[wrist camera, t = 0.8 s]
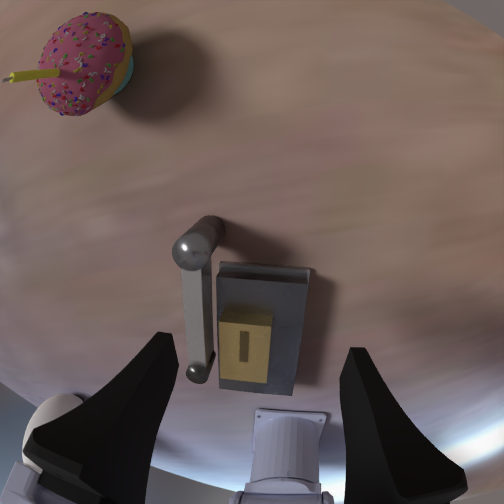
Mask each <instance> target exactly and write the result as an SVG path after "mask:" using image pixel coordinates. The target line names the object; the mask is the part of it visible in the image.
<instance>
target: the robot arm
mask: <svg viewBox="0 0 504 504" xmlns="http://www.w3.org/2000/svg"><path fill="white" fill-rule="evenodd" d="M178 367H179V363H178V359H177V354H176V350H175V345H174V341H173V336H172V334H171V333H164V332H157V333H156V334H155V335H154V336H153V337H152V339H151V340H150V341H149V342H148V343H147V344H146V345H145V346H144V348H143V349H142V350H141V351H140V352H139V353H138V354H137V355H136V356H135V357H134V358H133V359H132V361H131V362H130V363H129V364H128V365H127V366H126V367H125V368H124V369H123V370H122V371H121V372H120V373H119V374H118V375H116V376H115V377H114V378H113V379H112V380H111V381H110V382H109V383H108V384H107V385H105V386H104V387H103V388H102V389H101V390H99V391H98V392H97V393H96V394H94V395H93V396H92V397H90V398H89V399H87V400H86V401H85V402H83V403H82V404H80V405H79V406H77V407H76V408H74V409H72V410H71V411H69V412H67V413H65V414H64V415H62V416H60V417H58V418H56V419H54V420H52V421H50V422H48V423H45V424H43V425H41V426H38V427H36V428H34V429H33V430H32V432H31V434H30V436H29V438H28V440H27V442H26V444H25V446H24V449H23V454H24V455H25V456H26V457H27V458H28V459H30V460H31V461H32V462H33V463H35V464H36V465H37V466H38V467H40V468H41V469H42V473H41V474H39V473H38V472H36V471H34V470H33V469H31V468H29V467H27V466H26V465H24V464H22V463H21V462H19V461H16V462H15V464H14V466H13V468H12V471H11V473H10V475H9V478H8V480H7V482H6V485H5V487H4V489H3V492H2V494H1V497H0V503H1V504H145V496H146V487H147V481H148V474H149V469H150V463H151V458H152V453H153V449H154V444H155V440H156V436H157V432H158V429H159V426H160V423H161V421H162V418H163V415H164V412H165V410H166V407H167V404H168V402H169V399H170V396H171V393H172V391H173V388H174V384H175V380H176V376H177V371H178ZM340 404H341V411H342V419H343V427H344V435H345V443H346V483H345V498H344V504H450V501H452V500H454V499H456V498H457V497H459V496H461V495H462V494H464V493H465V492H466V491H467V490H468V486H467V480H466V475H465V472H464V469H462V468H461V467H460V466H458V465H457V464H455V463H454V462H453V461H451V460H450V459H449V458H447V457H446V456H445V455H444V454H443V453H442V452H440V451H439V450H438V449H437V448H436V447H435V446H434V445H433V444H432V443H431V442H430V441H429V440H428V439H427V438H426V437H425V436H424V435H423V434H422V433H421V432H420V431H419V429H418V428H417V427H416V426H415V425H414V424H413V422H412V421H411V420H410V419H409V418H408V416H407V415H406V414H405V412H404V411H403V410H402V408H401V407H400V405H399V404H398V402H397V401H396V400H395V398H394V396H393V395H392V393H391V392H390V390H389V389H388V387H387V385H386V384H385V382H384V381H383V379H382V377H381V375H380V374H379V372H378V370H377V368H376V367H375V365H374V363H373V361H372V359H371V357H370V356H369V354H368V352H367V350H366V349H365V348H361V347H350V350H349V353H348V356H347V359H346V361H345V364H344V367H343V370H342V373H341V375H340ZM259 415H260V416H259ZM326 418H327V416H326V414H325V413H310V412H291V411H277V410H265V409H257V410H256V413H255V426H254V440H253V453H254V458H253V464H252V470H251V477H250V483H246V484H245V489H244V491H237V492H236V493H235V494H234V495H233V496H232V497H231V498H230V501H229V504H334V498H333V496H332V495H331V494H329V492H328V491H325V492H322V495H321V483H319V445H318V442H319V439H320V436H321V433H322V430H323V427H324V424H325V421H326Z"/></svg>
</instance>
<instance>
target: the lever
mask: <svg viewBox="0 0 504 504" xmlns="http://www.w3.org/2000/svg"><path fill="white" fill-rule="evenodd" d="M224 234H225V227H224V224H223V223H222V221H221V220H220V219H219V218H217V217H215V216H204V217H202V218H201V219H200V220H199V221H198V222H197V223H195V224H194V225H193V226H192V227H191V228H190V229H189V230H188V231H187V232H186V233H184V234H183V235H182V236H181V237H180V238H179V239H178V240H177V241H176V242H175V243H174V245H173V248H172V255H173V259H174V261H175V262H176V264H177V265H178V266H179V267H180V268H181V275H182V291H183V305H184V317H185V329H186V340H187V350H188V360H189V367H188V369H187V371H186V376H187V378H188V379H189V380H190V381H192V382H194V383H197V384H203V383H205V382H206V381H207V380H208V377H209V374H210V371H211V368H212V365H213V362H214V360H215V357H216V354H215V351H214V343H213V315H212V273H211V255H212V253H213V252H214V250H215V249H216V247H217V246H218V244H219V243H220V242H221V240H222V239H223V237H224Z"/></svg>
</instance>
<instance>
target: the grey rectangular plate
mask: <svg viewBox="0 0 504 504" xmlns="http://www.w3.org/2000/svg"><path fill="white" fill-rule="evenodd" d="M309 275H310V268H305V267H292V266H278V265H265V264H252V263H240V262H227V261H220V263H219V273H218V275H217V276H216V290H217V336H218V366H219V388H220V389H228V390H236V391H244V392H253V393H263V394H275V395H288V396H292V393H293V387H294V382H295V376H296V370H297V363H298V357H299V350H300V344H301V337H302V330H303V323H304V315H305V308H306V300H307V292H308V284H309ZM223 311H227V312H237V313H248V314H259V315H270V316H273V317H272V330H271V342H270V354H269V365H268V375H267V383H258V382H248V381H239V380H231V379H223V378H220V351H219V320H220V317H221V315H222V312H223Z"/></svg>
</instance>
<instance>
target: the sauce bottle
mask: <svg viewBox="0 0 504 504" xmlns="http://www.w3.org/2000/svg"><path fill="white" fill-rule="evenodd" d="M82 403H83V401H82V400H81V399H80V398H79V397H77V396H75V395H73V394H65V393H61V394H57V395H55V396H53V397H51V398H49V399H47V400H46V401H44V402H43V403H42V404H41V405H40V406H39V407H38V409H37V410H36V411H35V413H34V414H33V416H32V418H31V419H30V421H29V423H28V426H27V429H26V432H25V435H24V440H23V448H22V456H23V462H24V463H22V464H24V465H26V466H27V467H29V468H31V469H33V470H34V471H36V472H38V473H39V474H41V473H42V469H41V468H40V467H38V466H37V465H36V464H35V463H33V462H32V461H31V460H30V459H28V458H27V457H26V456H25V455H24V454H23V449H24V446H25V444H26V442H27V440H28V438H29V436H30V434H31V432H32V430H33V429H34V428H36V427H38V426H41V425H43V424H45V423H48V422H50V421H52V420H54V419H56V418H58V417H60V416H62V415H64V414H65V413H67V412H69V411H71V410H72V409H74V408H76V407H77V406H79V405H80V404H82Z"/></svg>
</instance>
